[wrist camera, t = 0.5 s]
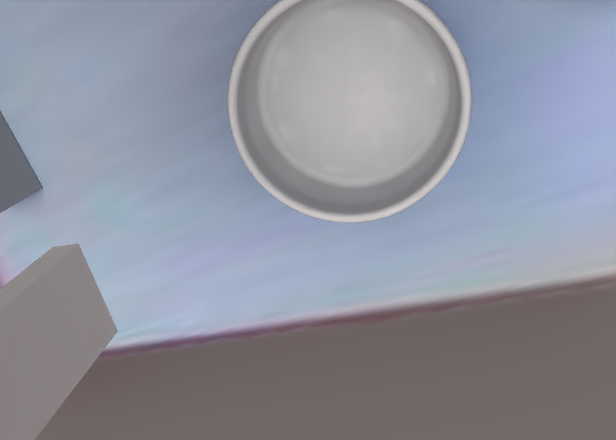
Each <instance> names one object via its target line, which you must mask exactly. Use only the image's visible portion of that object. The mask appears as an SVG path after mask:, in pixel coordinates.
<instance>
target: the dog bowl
mask: <svg viewBox="0 0 616 440" xmlns="http://www.w3.org/2000/svg"><path fill="white" fill-rule="evenodd" d="M471 110H472V90H471V82H470V76H469V71H468V68H467V64H466V61H465V59H464V56H463V53H462V51H461V49H460V47H459V45H458V43H457V41H456V40H455V38H454V37H453V35H452V33H451V32H450V30H449V29H448V28H447V26H446V25H445V24H444V23H443V22H442V20H441V19H440V18H439V17H438V16H437V15H436V14H435V13H434V12H433V11H432V10H431V9H430V8H429V7H427V6H426V5H425V4H424V3H423V2H421V1H420V0H280V1H278V2H277V3H276V4H274V5H273V6H272V7H271V8H270V9H269V10H268V11H266V12H265V13H264V14H263V15H262V16H261V17H260V18H259V20H258V21H257V22H256V23H255V24H254V26H253V27H252V28H251V30H250V31H249V33H248V34H247V36H246V37H245V39H244V41H243V43H242V45H241V46H240V48H239V51H238V53H237V55H236V58H235V61H234V64H233V67H232V71H231V75H230V80H229V87H228V115H229V121H230V127H231V131H232V135H233V138H234V141H235V144H236V146H237V149H238V151H239V153H240V155H241V158H242V159H243V161H244V163H245V165H246V166H247V168H248V169H249V171H250V172H251V173H252V175H253V176H254V177H255V179H256V180H257V181H258V182H259V183H260V184H261V185H262V186H263V187H264V188H265V189H266V190H267V191H268V192H269V193H270V194H271V195H273V196H274V197H275V198H277V199H278V200H279V201H281V202H282V203H284V204H285V205H287V206H289V207H290V208H292V209H294V210H296V211H299V212H301V213H303V214H306V215H308V216H311V217H315V218H318V219H322V220H327V221H333V222H344V223H352V222H366V221H372V220H376V219H381V218H384V217H387V216H390V215H393V214H395V213H398V212H400V211H402V210H404V209H406V208H408V207H409V206H411V205H413V204H414V203H416V202H417V201H419V200H420V199H422V198H423V197H424V196H425V195H427V194H428V193H429V192H430V191H431V190H432V189H433V188H434V187H435V186H436V185H437V184H438V183H439V182H440V181H441V180H442V179H443V178H444V177H445V175H446V174H447V173H448V171H449V170H450V169H451V167H452V166H453V164H454V162H455V161H456V159H457V157H458V155H459V153H460V151H461V149H462V147H463V144H464V142H465V139H466V136H467V132H468V129H469V124H470V118H471Z"/></svg>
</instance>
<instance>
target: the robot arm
mask: <svg viewBox="0 0 616 440" xmlns="http://www.w3.org/2000/svg"><path fill="white" fill-rule="evenodd" d="M116 333H117V328H116V326H115V324H114V322H113V320H112V317H111V315H110V313H109V311H108V308H107V306H106V304H105V302H104V299H103V297H102V295H101V293H100V291H99V288H98V286H97V284H96V282H95V279H94V277H93V275H92V273H91V271H90V268H89V266H88V264H87V262H86V259H85V257H84V255H83V253H82V251H81V248H80V246H79V244H73V245H65V246H58V247H52V248H51V249H50V250H49V251H47V252H46V253H45V254H44V255H42V256H41V257H40V258H39V259H37V260H36V261H35V262H34V263H32V264H31V265H30V266H29V267H27V268H26V269H25V270H24V271H22V272H21V273H20V274H19V275H17V276H16V277H15V278H14V279H12V280H11V281H10V282H9V283H7V284H6V285H5V286H4V287H2V288H1V289H0V440H34V439H35V438H36V437H37V435H38V434H39V433H40V431H41V430H42V429H43V428H44V426H45V425H46V424H47V422H48V421H49V420H50V418H51V417H52V416H53V415H54V413H55V412H56V411H57V409H58V408H59V407H60V405H61V404H62V403H63V401H64V400H65V399H66V398H67V396H68V395H69V394H70V393H71V391H72V390H73V388H74V387H75V386H76V385H77V383H78V382H79V381H80V379H81V378H82V377H83V376H84V374H85V373H86V372H87V370H88V369H89V368H90V367H91V365H92V364H93V363H94V361H95V360H96V359H97V357H98V356H99V355H100V354H101V352H102V351H103V350H104V348H105V347H106V346H107V344H108V343H109V342H110V341H111V339H112V338H113V337H114V335H115V334H116Z"/></svg>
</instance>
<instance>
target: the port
mask: <svg viewBox="0 0 616 440" xmlns="http://www.w3.org/2000/svg"><path fill="white" fill-rule="evenodd" d="M40 189H42V186H41V184H40V182H39V180H38V179H37V177H36V175H35V173H34V171H33V170H32V168H31V166H30V164H29V162H28V161H27V159H26V157H25V155H24V153H23V152H22V150H21V148H20V146H19V144H18V143H17V141H16V139H15V137H14V136H13V134H12V132H11V130H10V128H9V127H8V125H7V123H6V121H5V119H4V118H3V116H2V114H1V112H0V213H1V212H3V211H4V210H6V209H8V208H9V207H11V206H13V205H15V204H16V203H18V202H20V201H21V200H23V199H25V198H26V197H28V196H30V195H31V194H33V193H35V192H37V191H38V190H40Z"/></svg>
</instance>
